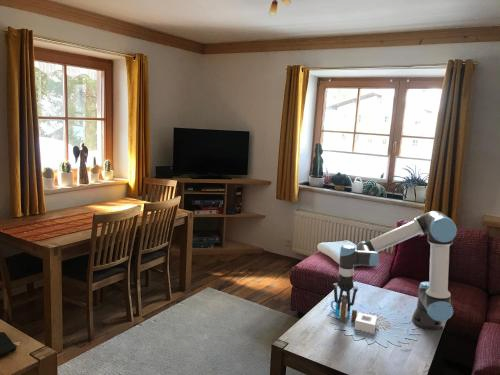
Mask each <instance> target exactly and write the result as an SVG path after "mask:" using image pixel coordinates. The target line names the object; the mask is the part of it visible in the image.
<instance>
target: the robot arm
mask: <svg viewBox="0 0 500 375" xmlns="http://www.w3.org/2000/svg"><path fill="white" fill-rule="evenodd" d="M457 232H458V229H457V226H456V223H455V221H454V220H453V219H452V218H450V217H448V216H447V215H446V214H445V213H444V212H442V211H438V210H431V211H427V212H426V213H422V214H420V215H418V216H416V217H414V218H413V220H412V221H409V222H408V223H406V224H403V225H401V226H399V227H396V228H394V229H391V230H390V231H388V232H385V233H383V234H380V235H378V236H376V237H375V238H372V239H370V240H367V241H365V240H363V241H360V242H358V243H357V244H356V247H355V246H354V245H352V244H351V245H350V244H344V245H342V246H341V247H340V252H339V262H338V263H339V265H338V266H339V267H338V281H337V282H335V283H333V284H332V288H333V297H334V298H333V301H334V300H335V302H334V303H335V304H336V303H338V309H339V310H340V311H339V316H341V307H342V303H341V299H342V295H344V292H345V293H346V294H345V295H347V305H346V314H345V317H346V318H347V316H348V311H350V312H351V307H353V306H354V304H355V302H356V300H355V299H356V295H357V292H358V290H359V287H356V286H354V274H355V272H354V271H355V269H354V268H355V265H356V266H365V267H366V266H368V267H377V266H379V262H380V257H379V256H380V254H379V252H381V251H383V250H387V249H389V248H390V247H392V246H395V245H397V244H400V243H402V242H404V241H406V240H409V239H411V238H413V237H414V238H415V237H416V236H418V235H426V234H427V239H426V240H427V242H428V244H429V245H430V249H429V252H430V253H429V254H430V255H429V277H428V278H429V280H428V281H422V282H420V283H419V286H418V293H417V294H418V295H417V302H416V303H417V304H416V308H415V310H414V312H413V314H412V316H411V317H412V318H411V321H412V322H413V324H415V325H416V326H418V327H420V328H423V329H426V330H439V329H441V328H442V327H443V326H442V325H443V322H445V321H447V320H449V319H451V317H452V316H453V314H454V309H453V306H452V304H451V301H452V300H451V292H450V291H449V290H448V287H449V265H450V246H451V245H453V243H454V238H456V235H457ZM338 288H339V295H338ZM352 289H353V290H352ZM351 290H352V291H353V293H352V298H351ZM338 299H339V300H338ZM350 306H351V307H350Z"/></svg>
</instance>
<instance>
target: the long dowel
mask: <svg viewBox="0 0 500 375" xmlns="http://www.w3.org/2000/svg"><path fill="white" fill-rule="evenodd" d="M346 305H347V294H343V295H342V307H341V318H340V323H342V324H345V323H346V320H347V319H346V317H345V314H346Z"/></svg>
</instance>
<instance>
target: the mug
mask: <svg viewBox="0 0 500 375" xmlns="http://www.w3.org/2000/svg"><path fill="white" fill-rule="evenodd" d="M338 300H339V298H338ZM333 303H335V307H334V305H333ZM341 303H342V299H341ZM330 307H331V309H332V310H333V312H334V315H336V316H337V317H336V316H335V317H336V318H338V317H339V318H338V319H341V316H339V311H340V310H339V309H338V303H336V302H335V300H334V299H333V300H332V301H331V302H330ZM351 307H352V306H350V308H351ZM350 317H351V310H350V311H348V316H347V318H348V319H350ZM347 318H346V320H347Z"/></svg>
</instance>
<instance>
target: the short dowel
mask: <svg viewBox="0 0 500 375" xmlns="http://www.w3.org/2000/svg"><path fill="white" fill-rule="evenodd" d="M357 315H358V310H357V309H352V310H351V318H350V319H351V322H353V323H355V320H356V317H357Z"/></svg>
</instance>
